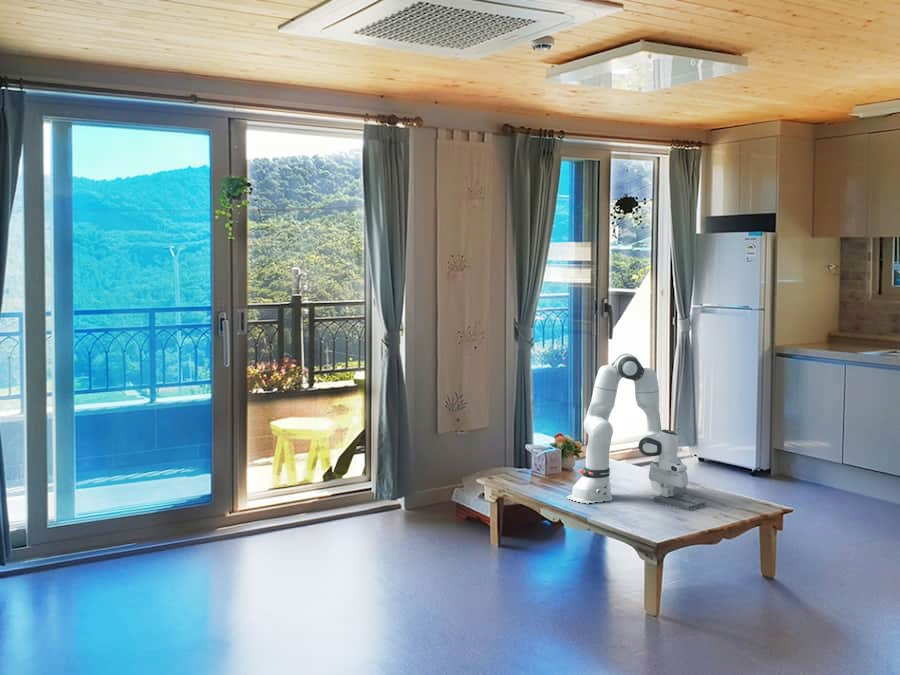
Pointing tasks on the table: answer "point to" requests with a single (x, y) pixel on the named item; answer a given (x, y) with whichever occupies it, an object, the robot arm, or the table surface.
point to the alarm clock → (657, 487)
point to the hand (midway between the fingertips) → (667, 493)
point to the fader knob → (666, 491)
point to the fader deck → (679, 501)
